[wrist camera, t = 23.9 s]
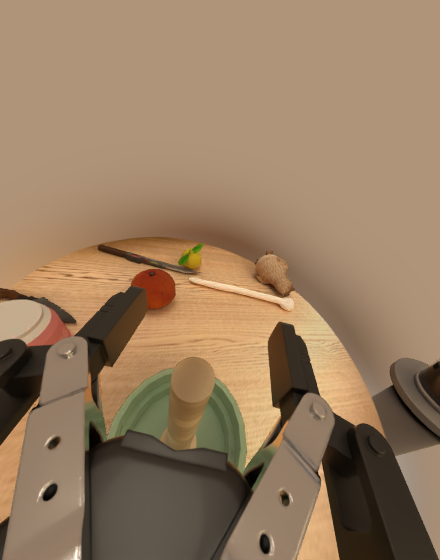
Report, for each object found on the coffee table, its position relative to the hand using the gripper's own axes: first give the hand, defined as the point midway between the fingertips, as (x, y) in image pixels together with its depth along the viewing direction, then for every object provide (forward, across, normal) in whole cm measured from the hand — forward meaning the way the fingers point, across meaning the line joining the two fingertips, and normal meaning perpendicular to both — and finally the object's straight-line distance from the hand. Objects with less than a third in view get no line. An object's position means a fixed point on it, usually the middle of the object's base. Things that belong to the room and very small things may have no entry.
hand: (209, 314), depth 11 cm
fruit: (+20, +13, +23) cm, 33 cm away
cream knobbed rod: (+29, -6, +22) cm, 37 cm away
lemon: (+39, +9, +22) cm, 46 cm away
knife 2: (+33, +5, +22) cm, 40 cm away
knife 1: (+9, +32, +22) cm, 40 cm away
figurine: (+44, -11, +18) cm, 49 cm away
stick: (-2, 0, +22) cm, 22 cm away
